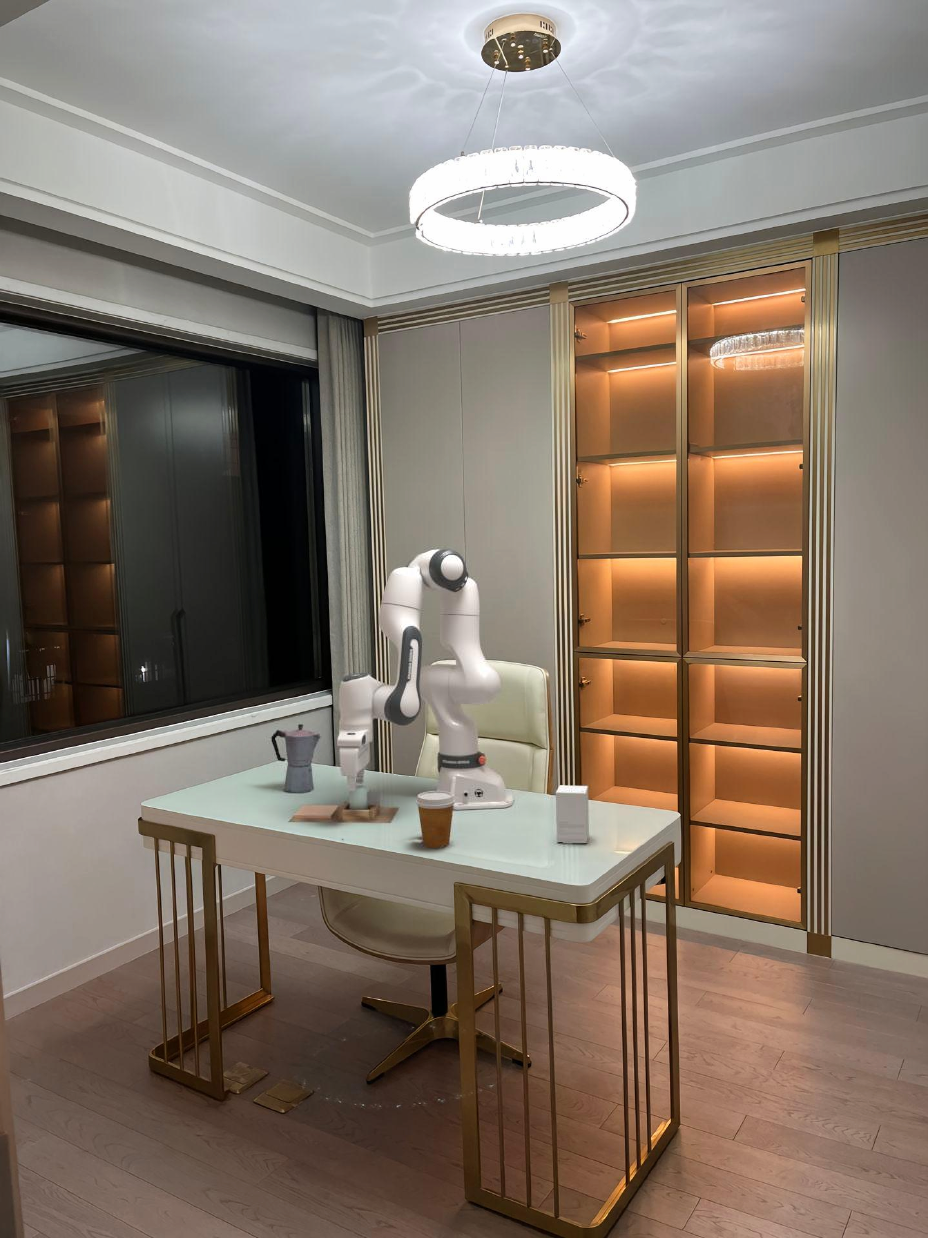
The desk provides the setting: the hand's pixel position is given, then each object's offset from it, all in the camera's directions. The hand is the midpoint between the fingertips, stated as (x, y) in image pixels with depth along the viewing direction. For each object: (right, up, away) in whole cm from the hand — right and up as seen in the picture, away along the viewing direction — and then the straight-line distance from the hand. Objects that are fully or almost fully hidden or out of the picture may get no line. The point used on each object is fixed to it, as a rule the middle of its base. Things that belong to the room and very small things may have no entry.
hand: (356, 786), depth 249 cm
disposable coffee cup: (+22, -10, -22) cm, 33 cm away
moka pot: (-22, -7, +34) cm, 41 cm away
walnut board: (-3, -9, +2) cm, 10 cm away
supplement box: (+55, -10, -20) cm, 59 cm away
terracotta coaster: (-11, -8, +4) cm, 14 cm away
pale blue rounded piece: (+2, -8, +1) cm, 8 cm away
